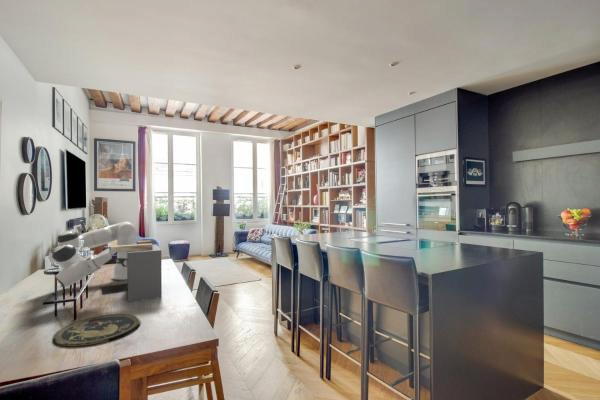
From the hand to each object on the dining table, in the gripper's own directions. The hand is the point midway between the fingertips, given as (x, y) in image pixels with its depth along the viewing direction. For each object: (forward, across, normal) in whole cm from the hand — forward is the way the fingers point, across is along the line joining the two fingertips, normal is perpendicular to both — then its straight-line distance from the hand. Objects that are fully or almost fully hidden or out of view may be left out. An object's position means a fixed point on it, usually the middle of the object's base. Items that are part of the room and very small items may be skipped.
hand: (119, 247), depth 167 cm
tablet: (-11, -27, -27) cm, 40 cm away
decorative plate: (-20, +42, -21) cm, 51 cm away
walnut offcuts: (+10, -7, -8) cm, 14 cm away
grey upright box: (-3, -7, -30) cm, 31 cm away
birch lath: (+4, 0, -5) cm, 7 cm away
